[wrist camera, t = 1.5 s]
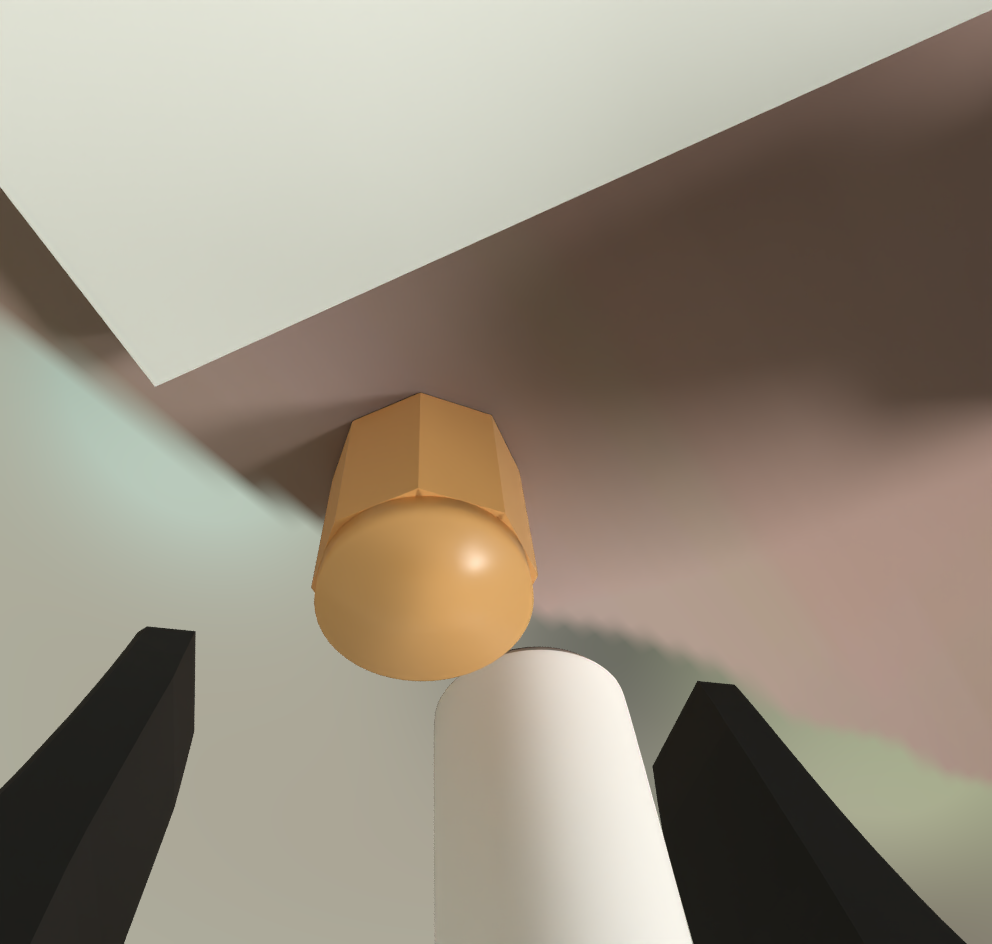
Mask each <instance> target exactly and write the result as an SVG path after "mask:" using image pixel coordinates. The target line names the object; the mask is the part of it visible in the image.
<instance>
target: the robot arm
mask: <svg viewBox="0 0 992 944" xmlns="http://www.w3.org/2000/svg"><path fill="white" fill-rule="evenodd" d="M194 698H195V631H186V630H177V629H166V628H157V627H146V628H144V629H142V630H141V631H139V632H138V633H137V634H136V635H135V637H134V638H133V639H132V641H131V642H130V643H129V645H128V646H127V647H126V649H125V650H124V651H123V652H122V654H121V655H120V656H119V657H118V659H117V660H116V661H115V662H114V664H113V665H112V666H111V667H110V669H109V670H108V671H107V672H106V673H105V675H104V676H103V677H102V678H101V679H100V681H99V682H98V683H97V684H96V686H95V687H94V688H93V689H92V690H91V691H90V693H89V694H88V695H87V696H86V697H85V698H84V699H83V701H82V702H81V703H80V704H79V705H78V706H77V708H76V709H75V710H74V711H73V712H72V713H71V714H70V715H69V717H68V718H67V719H66V720H65V721H64V722H63V723H62V724H61V725H60V726H59V727H58V729H57V730H56V731H55V732H54V733H53V734H52V735H51V736H50V737H49V738H48V739H47V740H46V742H45V743H44V744H43V745H42V746H41V747H40V748H39V749H38V750H37V751H36V752H35V753H34V755H33V756H32V757H31V758H30V759H29V760H28V761H27V762H26V763H25V764H24V765H23V766H22V767H21V768H20V769H19V770H18V772H17V773H16V774H15V775H14V776H13V777H12V778H11V779H10V780H9V781H8V782H7V783H6V784H5V785H4V786H3V787H2V788H1V789H0V944H124V942H125V939H126V936H127V933H128V931H129V928H130V926H131V923H132V920H133V917H134V915H135V912H136V910H137V907H138V904H139V901H140V899H141V896H142V894H143V891H144V888H145V886H146V883H147V880H148V878H149V875H150V872H151V870H152V867H153V864H154V861H155V859H156V856H157V853H158V851H159V848H160V845H161V843H162V840H163V837H164V834H165V832H166V829H167V826H168V824H169V821H170V818H171V815H172V812H173V810H174V807H175V803H176V799H177V796H178V792H179V788H180V785H181V781H182V777H183V773H184V769H185V765H186V762H187V757H188V754H189V750H190V746H191V742H192V738H193V734H194V705H195V699H194ZM653 772H654V779H655V787H656V794H657V801H658V807H659V813H660V818H661V825H662V830H663V836H664V840H665V844H666V847H667V851H668V855H669V859H670V862H671V866H672V869H673V873H674V877H675V880H676V884H677V887H678V891H679V895H680V898H681V902H682V905H683V909H684V912H685V915H686V919H687V922H688V926H689V929H690V933H691V936H692V940H693V943H694V944H966V943H965V942H964V941H963V940H962V939H961V938H960V937H959V936H958V935H957V934H956V933H955V932H954V931H953V930H952V929H951V928H950V927H949V926H948V925H946V923H944V921H942V920H941V919H940V918H939V917H938V916H937V915H936V914H935V912H934V911H933V910H932V909H931V908H930V907H929V906H927V904H926V903H925V902H924V901H923V900H922V899H921V898H920V897H919V896H918V895H917V894H916V893H915V892H914V891H913V890H912V889H911V888H910V887H909V886H908V885H907V884H906V882H905V881H903V879H902V878H901V877H900V876H899V875H898V874H897V873H896V872H895V871H894V870H893V868H892V867H891V866H890V865H889V864H888V863H887V862H886V861H885V860H884V859H883V858H882V857H881V856H880V854H879V853H877V851H876V850H875V849H874V848H873V847H872V846H871V845H870V843H869V842H868V841H867V840H866V839H865V838H864V837H863V836H862V834H861V833H860V832H859V831H858V830H857V829H856V828H855V827H854V826H853V824H852V823H851V822H850V821H849V820H848V819H847V818H846V816H845V815H844V814H843V813H842V812H841V811H840V809H839V808H838V807H837V806H836V805H835V804H834V802H833V801H832V800H831V799H830V798H829V797H828V795H827V794H826V793H825V792H824V791H823V790H822V788H821V787H820V786H819V785H818V784H817V782H816V781H815V780H814V779H813V778H812V777H811V775H810V774H809V773H808V772H807V771H806V769H805V768H804V767H803V766H802V764H801V763H800V762H799V761H798V760H797V758H796V757H795V756H794V755H793V754H792V752H791V751H790V750H789V749H788V747H787V746H786V745H785V744H784V743H783V742H782V740H781V739H780V738H779V737H778V735H777V734H776V733H775V732H774V731H773V729H772V728H771V727H770V726H769V725H768V723H767V722H766V721H765V720H764V718H763V717H762V716H761V715H760V714H759V712H758V711H757V710H756V709H755V708H754V706H753V705H752V704H751V703H750V702H749V701H748V699H747V698H746V697H745V696H744V695H743V694H742V692H741V691H740V690H739V689H738V688H737V687H736V686H735V685H732V684H721V683H711V682H701V681H697V683H696V685H695V687H694V689H693V691H692V692H691V694H690V696H689V698H688V700H687V702H686V704H685V706H684V708H683V710H682V711H681V714H680V715H679V717H678V719H677V721H676V723H675V725H674V727H673V729H672V731H671V732H670V734H669V736H668V738H667V740H666V742H665V744H664V746H663V747H662V749H661V751H660V753H659V755H658V757H657V759H656V761H655V763H654V765H653Z"/></svg>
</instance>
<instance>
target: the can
mask: <svg viewBox="0 0 992 944" xmlns="http://www.w3.org/2000/svg"><path fill="white" fill-rule="evenodd" d="M434 912H435V914H434V915H435V917H434V918H435V919H434V920H435V944H692V941H691V937H690V934H689V930H688V927H687V923H686V919H685V915H684V911H683V908H682V904H681V901H680V896H679V893H678V889H677V885H676V882H675V878H674V874H673V871H672V867H671V863H670V860H669V856H668V852H667V849H666V845H665V841H664V837H663V834H662V830H661V827H660V823H659V819H658V815H657V812H656V808H655V804H654V801H653V797H652V793H651V790H650V786H649V782H648V779H647V775H646V772H645V768H644V764H643V761H642V757H641V754H640V750H639V746H638V743H637V739H636V736H635V732H634V728H633V725H632V722H631V718H630V715H629V711H628V707H627V704H626V701H625V697H624V695H623V692H622V689H621V688H620V686H619V684H618V682H617V681H616V679H615V678H614V677H613V676H612V675H611V674H610V673H609V672H608V671H607V670H606V669H604V668H603V667H602V666H600V665H599V664H597V663H595V662H593V661H591V660H589V659H588V658H586V657H584V656H582V655H579V654H577V653H574V652H571V651H568V650H563V649H558V648H551V647H525V648H518V649H512V650H509V651H507V652H506V653H505V654H504V655H503V656H501V657H500V658H499V659H497V660H496V661H494V662H493V663H491V664H489V665H487V666H485V667H483V668H481V669H479V670H477V671H474V672H472V673H469V674H466V675H462V676H459V677H458V678H457V679H456V680H455V681H454V682H453V683H452V684H451V685H450V686H449V687H448V688H447V689H446V691H445V692H444V693H443V695H442V697H441V699H440V701H439V703H438V706H437V708H436V713H435V722H434Z"/></svg>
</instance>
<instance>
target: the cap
mask: <svg viewBox="0 0 992 944" xmlns="http://www.w3.org/2000/svg"><path fill="white" fill-rule="evenodd" d="M537 576H538V573H537V567H536V561H535V556H534V550H533V545H532V539H531V534H530V528H529V523H528V517H527V511H526V506H525V500H524V495H523V489H522V484H521V478H520V473H519V470H518V468H517V466H516V464H515V462H514V460H513V458H512V456H511V454H510V452H509V450H508V448H507V446H506V444H505V442H504V440H503V438H502V435H501V433H500V431H499V429H498V427H497V425H496V423H495V421H494V419H493V417H492V415H489V414H486V413H483V412H480V411H477V410H473V409H470V408H467V407H464V406H461V405H458V404H455V403H451V402H448V401H445V400H442V399H439V398H436V397H433V396H430V395H426V394H423V393H418V394H416V395H414V396H411V397H409V398H406V399H404V400H402V401H399V402H397V403H395V404H392V405H390V406H387V407H385V408H383V409H380V410H378V411H376V412H373V413H371V414H368V415H366V416H364V417H361V418H359V419H357V420H354V421H352V424H351V427H350V430H349V433H348V436H347V439H346V442H345V445H344V448H343V450H342V453H341V456H340V459H339V462H338V465H337V468H336V471H335V474H334V477H333V480H332V484H331V490H330V495H329V500H328V505H327V510H326V515H325V520H324V525H323V530H322V535H321V540H320V546H319V551H318V556H317V561H316V566H315V571H314V577H313V581H312V586H311V588H312V589H313V590H314V592H315V599H314V605H315V613H316V617H317V621H318V624H319V625H320V628H321V630H322V632H323V634H324V635H325V637H326V638H327V640H328V641H329V643H330V644H331V645H332V646H333V647H334V648H335V649H336V650H337V651H338V652H339V653H340V654H342V655H343V656H344V657H345V658H347V659H348V660H350V661H351V662H353V663H354V664H356V665H358V666H360V667H362V668H364V669H366V670H368V671H371V672H373V673H376V674H379V675H382V676H386V677H390V678H395V679H401V680H410V681H435V680H444V679H450V678H455V677H459V676H462V675H466V674H469V673H472V672H474V671H477V670H479V669H481V668H483V667H485V666H487V665H489V664H491V663H493V662H494V661H496V660H497V659H499V658H500V657H501V656H503V655H504V654H505V653H506V652H507V651H509V650H510V649H511V648H512V647H513V646H514V645H515V643H516V642H517V641H518V640H519V639H520V637H521V636H522V634H523V633H524V631H525V629H526V627H527V625H528V623H529V621H530V618H531V614H532V610H533V602H534V599H533V587H532V585H533V583H534V581H535V580H536V578H537Z"/></svg>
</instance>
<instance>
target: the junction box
mask: <svg viewBox="0 0 992 944" xmlns="http://www.w3.org/2000/svg"><path fill="white" fill-rule="evenodd" d="M990 10H992V0H0V187H1V189H2V190H3V191H4V192H5V194H6V195H7V196H8V198H9V199H10V200H11V201H12V203H13V204H14V205H15V207H16V208H17V209H18V211H19V212H20V213H21V214H22V216H23V217H24V218H25V220H26V221H27V222H28V223H29V225H30V226H31V227H32V229H33V230H34V231H35V232H36V234H37V235H38V236H39V238H40V239H41V240H42V241H43V243H44V244H45V245H46V247H47V248H48V249H49V251H50V252H51V253H52V254H53V256H54V257H55V258H56V260H57V261H58V262H59V263H60V265H61V266H62V267H63V269H64V270H65V271H66V272H67V274H68V275H69V276H70V278H71V279H72V280H73V281H74V283H75V284H76V285H77V287H78V288H79V289H80V291H81V292H82V293H83V294H84V296H85V297H86V298H87V300H88V301H89V302H90V303H91V305H92V306H93V307H94V309H95V310H96V311H97V312H98V314H99V315H100V316H101V318H102V319H103V320H104V322H105V323H106V324H107V325H108V327H109V328H110V329H111V331H112V332H113V333H114V334H115V336H116V337H117V338H118V340H119V341H120V342H121V343H122V345H123V346H124V347H125V349H126V350H127V351H128V352H129V354H130V355H131V356H132V358H133V359H134V360H135V362H136V363H137V364H138V365H139V367H140V368H141V369H142V371H143V372H144V373H145V374H146V376H147V377H148V378H149V380H150V381H151V382H152V383H153V385H154V386H155V387H156V386H158V385H160V384H162V383H165V382H167V381H169V380H171V379H174V378H176V377H178V376H180V375H182V374H185V373H187V372H189V371H191V370H193V369H196V368H198V367H200V366H202V365H205V364H207V363H209V362H211V361H213V360H216V359H218V358H220V357H222V356H225V355H227V354H229V353H231V352H233V351H236V350H238V349H240V348H242V347H244V346H247V345H249V344H251V343H253V342H256V341H258V340H260V339H262V338H264V337H267V336H269V335H271V334H273V333H276V332H278V331H280V330H282V329H284V328H287V327H289V326H291V325H293V324H296V323H298V322H300V321H302V320H304V319H307V318H309V317H311V316H313V315H315V314H318V313H320V312H322V311H324V310H327V309H329V308H331V307H333V306H335V305H338V304H340V303H342V302H344V301H347V300H349V299H351V298H353V297H355V296H358V295H360V294H362V293H364V292H366V291H369V290H371V289H373V288H375V287H378V286H380V285H382V284H384V283H386V282H389V281H391V280H393V279H395V278H398V277H400V276H402V275H404V274H406V273H409V272H411V271H413V270H415V269H418V268H420V267H422V266H424V265H426V264H429V263H431V262H433V261H435V260H437V259H440V258H442V257H444V256H446V255H449V254H451V253H453V252H455V251H457V250H460V249H462V248H464V247H466V246H469V245H471V244H473V243H475V242H477V241H480V240H482V239H484V238H486V237H488V236H491V235H493V234H495V233H497V232H500V231H502V230H504V229H506V228H508V227H511V226H513V225H515V224H517V223H520V222H522V221H524V220H526V219H528V218H531V217H533V216H535V215H537V214H540V213H542V212H544V211H546V210H548V209H551V208H553V207H555V206H557V205H559V204H562V203H564V202H566V201H568V200H571V199H573V198H575V197H577V196H579V195H582V194H584V193H586V192H588V191H591V190H593V189H595V188H597V187H599V186H602V185H604V184H606V183H608V182H610V181H613V180H615V179H617V178H619V177H622V176H624V175H626V174H628V173H630V172H633V171H635V170H637V169H639V168H642V167H644V166H646V165H648V164H650V163H653V162H655V161H657V160H659V159H662V158H664V157H666V156H668V155H670V154H673V153H675V152H677V151H679V150H681V149H684V148H686V147H688V146H690V145H693V144H695V143H697V142H699V141H701V140H704V139H706V138H708V137H710V136H713V135H715V134H717V133H719V132H721V131H724V130H726V129H728V128H730V127H732V126H735V125H737V124H739V123H741V122H744V121H746V120H748V119H750V118H752V117H755V116H757V115H759V114H761V113H764V112H766V111H768V110H770V109H772V108H775V107H777V106H779V105H781V104H784V103H786V102H788V101H790V100H792V99H795V98H797V97H799V96H801V95H803V94H806V93H808V92H810V91H812V90H815V89H817V88H819V87H821V86H823V85H826V84H828V83H830V82H832V81H835V80H837V79H839V78H841V77H843V76H846V75H848V74H850V73H852V72H854V71H857V70H859V69H861V68H863V67H866V66H868V65H870V64H872V63H874V62H877V61H879V60H881V59H883V58H886V57H888V56H890V55H892V54H894V53H897V52H899V51H901V50H903V49H906V48H908V47H910V46H912V45H914V44H917V43H919V42H921V41H923V40H925V39H928V38H930V37H932V36H934V35H937V34H939V33H941V32H943V31H945V30H948V29H950V28H952V27H954V26H957V25H959V24H961V23H963V22H965V21H968V20H970V19H972V18H974V17H976V16H979V15H981V14H983V13H985V12H988V11H990Z"/></svg>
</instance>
